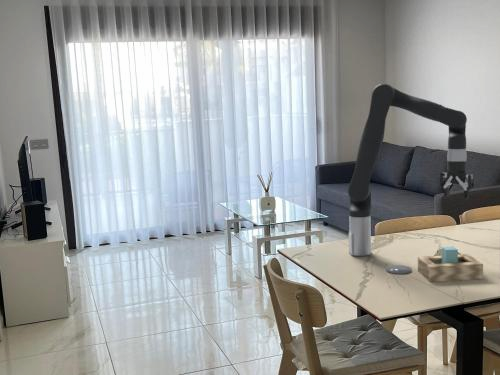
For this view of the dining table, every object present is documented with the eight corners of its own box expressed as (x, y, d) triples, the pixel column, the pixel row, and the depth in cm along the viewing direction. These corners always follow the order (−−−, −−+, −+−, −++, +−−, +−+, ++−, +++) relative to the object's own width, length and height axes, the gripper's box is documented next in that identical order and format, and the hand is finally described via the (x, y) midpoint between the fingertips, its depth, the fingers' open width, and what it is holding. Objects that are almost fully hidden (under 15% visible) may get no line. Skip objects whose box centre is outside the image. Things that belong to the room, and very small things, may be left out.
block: (445, 270, 222) (445, 250, 221) (441, 267, 227) (441, 247, 226) (457, 269, 223) (457, 249, 221) (453, 266, 227) (453, 246, 226)
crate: (429, 281, 218) (429, 266, 217) (417, 271, 232) (417, 256, 231) (482, 278, 219) (483, 263, 218) (467, 268, 232) (467, 254, 232)
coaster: (389, 275, 228) (389, 273, 228) (383, 267, 238) (383, 265, 238) (415, 273, 229) (415, 271, 229) (407, 266, 239) (407, 264, 238)
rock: (457, 265, 238) (457, 255, 237) (430, 261, 245) (430, 251, 244) (466, 259, 246) (466, 249, 245) (440, 255, 253) (440, 246, 252)
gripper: (436, 159, 245) (436, 197, 248) (468, 161, 234) (467, 201, 237) (446, 157, 250) (446, 195, 252) (477, 159, 239) (477, 198, 242)
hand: (456, 198), depth 245 cm, fingers open, 8 cm apart
